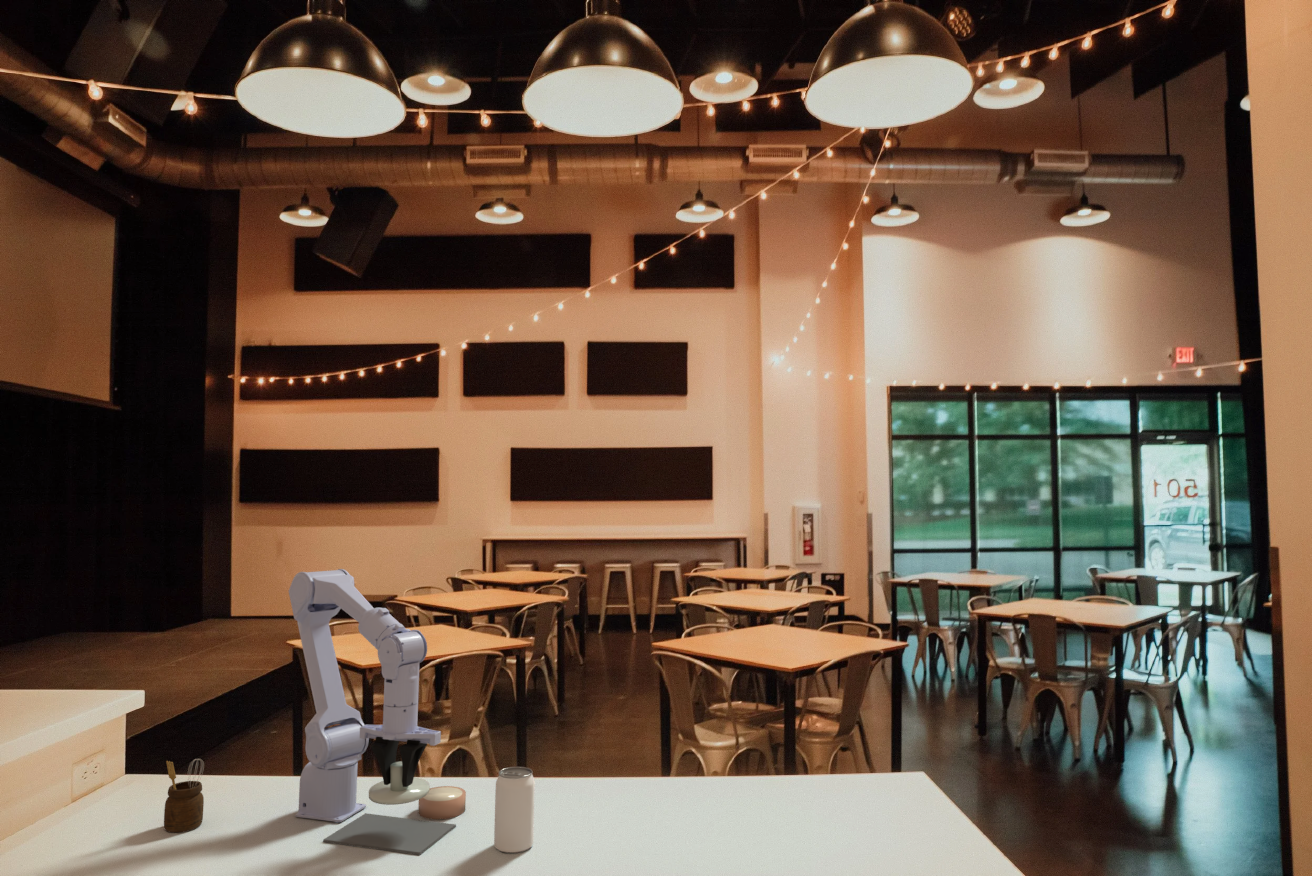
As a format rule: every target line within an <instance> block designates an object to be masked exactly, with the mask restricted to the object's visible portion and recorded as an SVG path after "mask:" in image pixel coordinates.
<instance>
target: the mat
mask: <svg viewBox="0 0 1312 876" xmlns="http://www.w3.org/2000/svg"><path fill="white" fill-rule="evenodd" d="M456 827H457V824H456V823H455V824H454V823H447V822H440V821H439V822H437V821H432V820H431V821H430V820H423V819H413V818H405V817H399V816H398V817H397V816H390V815H384V814H383V815H381V814H374V813H364V814H361V815H360V816H359V817H357V818H356V819H354V820H353V821H351V822H350V823H347V824H346V825H344V826H343V827H341V828H339V829H338V830H337V831H334V832H333V833H332V834H330V835H328V836H327V837H325V838H324V839H323V840H322V842H323V843H329V844H336V845H342V846H343V845H344V846H351V847H356V848H366V849H374V850H380V851H387V852H396V853H402V854H403V853H404V854H411V855H418V856H420V855H422V854H424V853H425V852H426V851H427V850H428V849H430V848H431V847H432V846H434V845H435V844H436V843H437V842H439V841H440V840H442V838H444V837H445V836H446V835H447V834H449V833H450V832H451V831H452V830H454V829H455V828H456Z"/></svg>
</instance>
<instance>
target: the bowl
mask: <svg viewBox="0 0 1312 876" xmlns="http://www.w3.org/2000/svg"><path fill="white" fill-rule="evenodd" d="M466 798H467V791H466V790H465V789H464V788H461V787H459V786H454V785H453V786H452V785H451V786H450V785H447V786H445V785H442V786H435V787H430V790H429V793H428V794H427V795H426V796H424V797H423V798H421V799H419V800H418V810H417V811H418V813H417V814H418V815H419V817H421V818H423V819H426V820H435V821H436V820H437V821H438V820H439V821H440V820H441V821H442V820H447V819H452V818H456V817H459V816H461V815H462V814H464V813H465V811H466Z"/></svg>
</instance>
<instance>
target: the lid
mask: <svg viewBox="0 0 1312 876" xmlns="http://www.w3.org/2000/svg"><path fill="white" fill-rule="evenodd" d="M402 770H403V769H402V760H401V761H395V763H392V764H391V767H390V784H388V785H384V781H383V780H382V781H378V782H377V783H374V784H373V785H372V786H371V787H370V788H369V789H368V799H369V800H370V801H371V802H373V803H375V804H378V805H386V806H388V805H391V806H392V805H403V804H404V805H405V804H408V803H412V802H416V801H419V799H421V798H423V797H424V796H426V795H427V794H428V793H429V790H430V788H431V787H430V786H431V785H430V782H429V781H428V780H426V779H424V778H420V777H416V776H414V778H413V783H412V784H411V785H409V786H408V787H403V785H402Z"/></svg>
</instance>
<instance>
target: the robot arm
mask: <svg viewBox="0 0 1312 876" xmlns="http://www.w3.org/2000/svg"><path fill="white" fill-rule="evenodd" d="M288 595H289V600H290V603H291V604H290V606H291V609H292V613H293V614H292V616H293V619H294V620H295V621H297V626H298V632H299V636H300V640H301V641H300V642H301V647H302V651H303V655H304V660H305V665H306V671H307V674H308V675H307V676H308V680H309V683H310V684H309V685H310V689H311V693H312V699H313V703H314V708H315V712H316V713H315V714H314V716H313V717H312V718H311V719H310V721H309V722H308V723H307V725H306V726H305V728H304V732H305V755H306V757H307V760H308V763H307V764H305V766H304V767H303V769H302V771H301V774H300V777H299V787H298V788H299V793H298V812H296V813H295V817H296V818H304V819H311V820H319V821H327V822H335V823H342V822H343V821H345V820H348V818H350V817H352V816H353V815H355V814H357V813H359V812H360V811H362V810H363V809H366V807H367V804H365V803H359V802H357V792H358V789H357V788H358V787H357V786H358V765H359V764H358V762H359V761H361V760H362V755H363V754H364V753H365V752H366V751H367V748H368V746H369V740H370V739H375V740H374V742H373V743H372V744H371V747H370V748H371V750H372V752H373V754H374V756H375V757H376V759H377V762H378V765H379V768H380V771H381V776H382V781H384V785H388V784H390V767H391V764H392V763H395V762H397V760H396V758H397V754H398V753H397V752H398V748H399V753H400V758H401V761H402V769H403V770H402V785H403V787H408V786H409V785H411V784H412V783H413V778H414V777H415V774H416V770H417V767H418V765H419V761H420V760H421V757H422V756H423V753H424V752H425V749H426V747H427V746H428V745H429V746H433V747H434V746H437V745H439V744H440V743H441V741H442V740H441V739H442V738H441V737H442V731H441V730H433V729H431V728H430V729H429V728H426V727H422V726H418V722H419V721H418V720H419V719H418V717H419V716H418V714H419V713H418V712H419V690H420V688H419V687H420V685H419V684H420V683H419V681H420V663H423V661H424V660H425V658H426V657H427V654H428V641H427V639H426V637H425V636H424V634H423V633H422V632H421V630H419V629H412V630H411V629H410V628H406V627H405V626H404V625H403V624H402V623H401V622H399V620H397V619H396V618H395V617H393V616H392V614H390V610H389V609H387V608H386V607H373V605H372V604H371V603H370V602H369V601H368V600H367V599H366V598H365V597H364V596H363V594H362V593H361V592H360V591H359V590H358V588H357V587H355V577H354V576H353V575H352V574H350V573H349V572H348V571H347V569H344V568H338V569H335V570H331V569H330V570H322V571H321V570H320V571H307V572H306V571H299V572H297V573H296V574H295V575H294V577H293V579H292V581H291V583H290V586H289V589H288ZM340 610H342V611H343V612H345V613H346V614H348V615H349V616H350V617H351V618H352V619H354V620H355V621H356V622H357V623H358V625H357V626H358V627H357V628H358V632H359V634H360V635H362V637H363V638H365V639H366V641H367V642H369V643H370V644H371V645H372V646H373V647H374V648H375V649H376V650H377V657H378V661H379V663H380V666H381V675H382V678H384V683H383V685H384V688H383V689H384V690H383V710H382V711H383V714H382V724H365V723H364V721H363V719H362V716H361V712H360V711H359V710H357V709H356V708H355V707H352V706H350V705H349V704H347V700H346V695H345V691H344V687H343V682H342V677H341V674H340V667H339V664H338V661H337V656H336V651H335V647H334V641H333V638H332V637H333V636H332V633H331V628H330V621H331V619H332V618H333V617H335V616H336V615H338V614H339V612H340ZM333 725H334V726H333ZM329 726H330V727H329ZM400 742H405V743H404V744H403V745H401V746H399V743H400Z"/></svg>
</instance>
